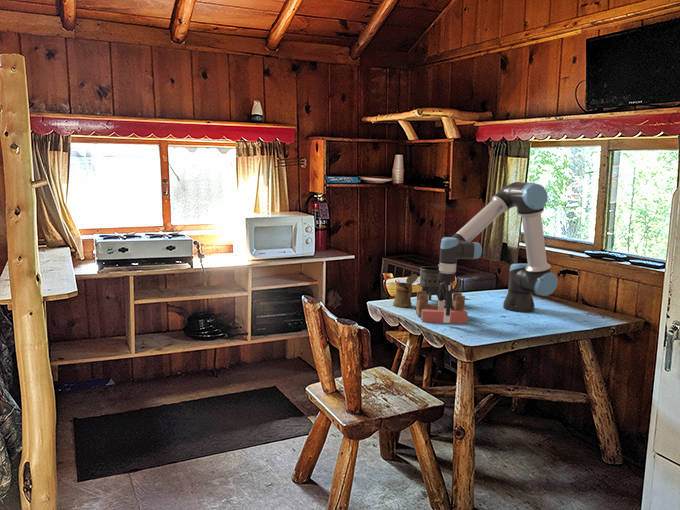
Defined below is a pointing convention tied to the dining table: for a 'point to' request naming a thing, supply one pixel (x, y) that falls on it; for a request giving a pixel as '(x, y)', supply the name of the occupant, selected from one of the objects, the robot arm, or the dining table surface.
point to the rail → (438, 316)
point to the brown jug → (404, 292)
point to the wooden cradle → (422, 303)
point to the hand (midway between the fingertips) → (443, 318)
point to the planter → (429, 280)
